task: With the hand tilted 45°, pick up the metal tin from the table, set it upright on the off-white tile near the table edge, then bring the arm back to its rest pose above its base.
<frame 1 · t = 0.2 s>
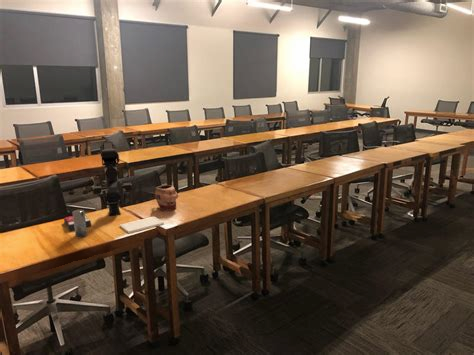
hand: (114, 204, 194), 14 cm above the table, tool pointing down, fingers open, 9 cm apart
tin: (81, 235, 193), on the table
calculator: (77, 225, 208), on the table
decorative planter: (166, 208, 232), on the table
tile: (142, 225, 206), on the table
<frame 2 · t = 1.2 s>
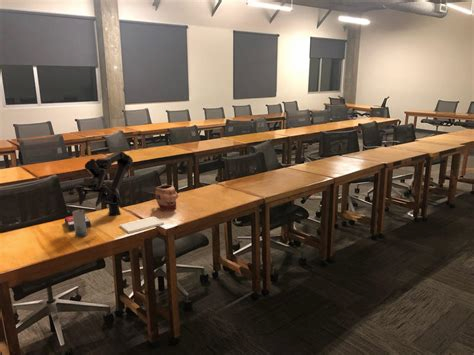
hand: (88, 205, 197), 13 cm above the table, tool tilted 45°, fingers open, 9 cm apart
nothing on the table moved.
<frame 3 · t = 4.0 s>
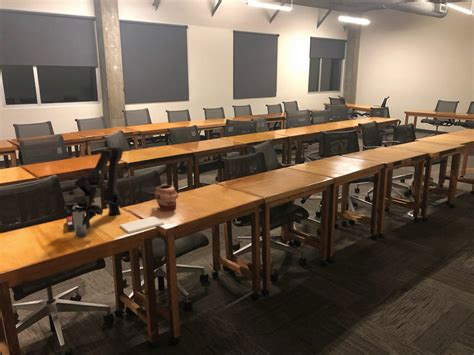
hand: (78, 224, 190), 7 cm above the table, tool tilted 45°, fingers closed on tin, 5 cm apart
tin: (81, 235, 193), on the table, touching gripper
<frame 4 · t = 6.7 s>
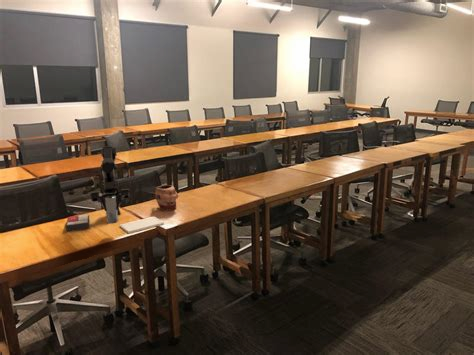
hand: (111, 210, 190), 13 cm above the table, tool tilted 45°, fingers closed on tin, 5 cm apart
tin: (112, 221, 193), point 7 cm above the table, touching gripper
when the fingers open (9 cm above the table, at t = 9.6 s): tin drops 1 cm, resting on tile.
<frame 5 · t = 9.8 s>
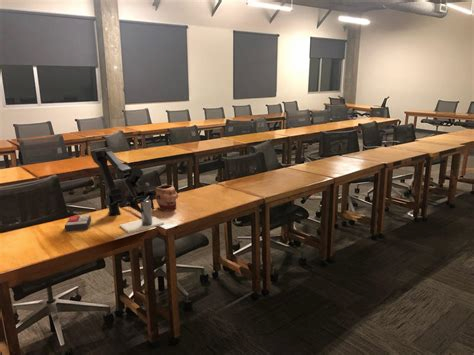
hand: (147, 210, 201), 9 cm above the table, tool tilted 45°, fingers open, 7 cm apart
tin: (147, 224, 204), point 1 cm above the table, touching tile
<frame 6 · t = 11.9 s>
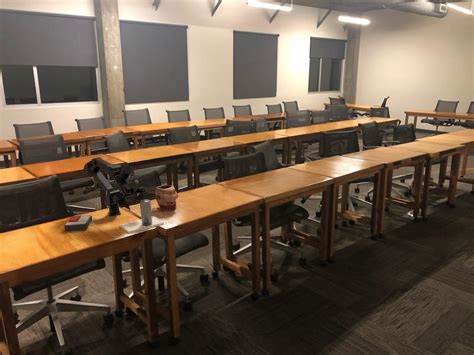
hand: (137, 207, 207), 9 cm above the table, tool tilted 45°, fingers open, 9 cm apart
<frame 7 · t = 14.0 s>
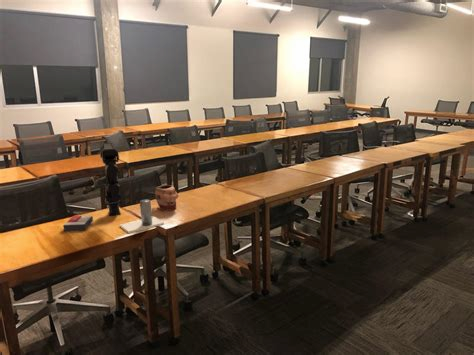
hand: (114, 199, 208), 13 cm above the table, tool pointing down, fingers open, 6 cm apart
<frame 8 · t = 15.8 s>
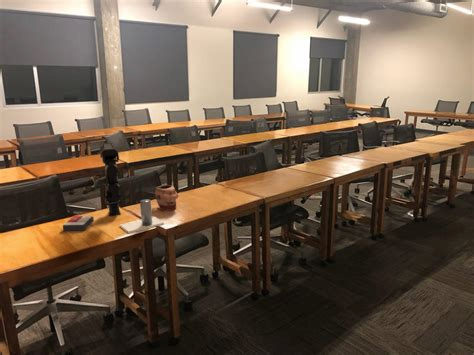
hand: (114, 199, 208), 13 cm above the table, tool pointing down, fingers closed
at the end: tin inside the target area on the tile (0.0 cm from its centre), point 1.0 cm above the tile's base; tin tilted 1°; the gripper is holding nothing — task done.
